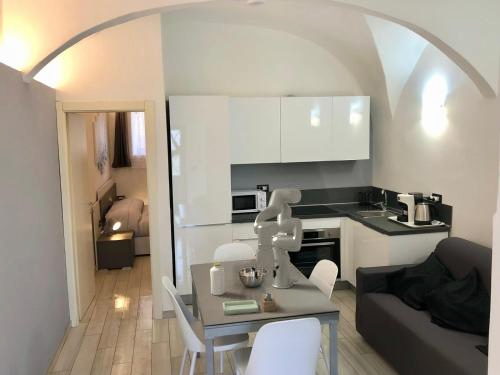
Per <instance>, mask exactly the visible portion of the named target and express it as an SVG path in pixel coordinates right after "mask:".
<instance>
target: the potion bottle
mask: <svg viewBox="0 0 500 375" xmlns="http://www.w3.org/2000/svg"><path fill="white" fill-rule="evenodd" d="M209 272H210V294H211V295H214V296H222V295H224V294H225V292H226V275H225V268H224V267H223V266H222V264H221V262H214V263H213V267H211V268H210V270H209Z"/></svg>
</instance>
